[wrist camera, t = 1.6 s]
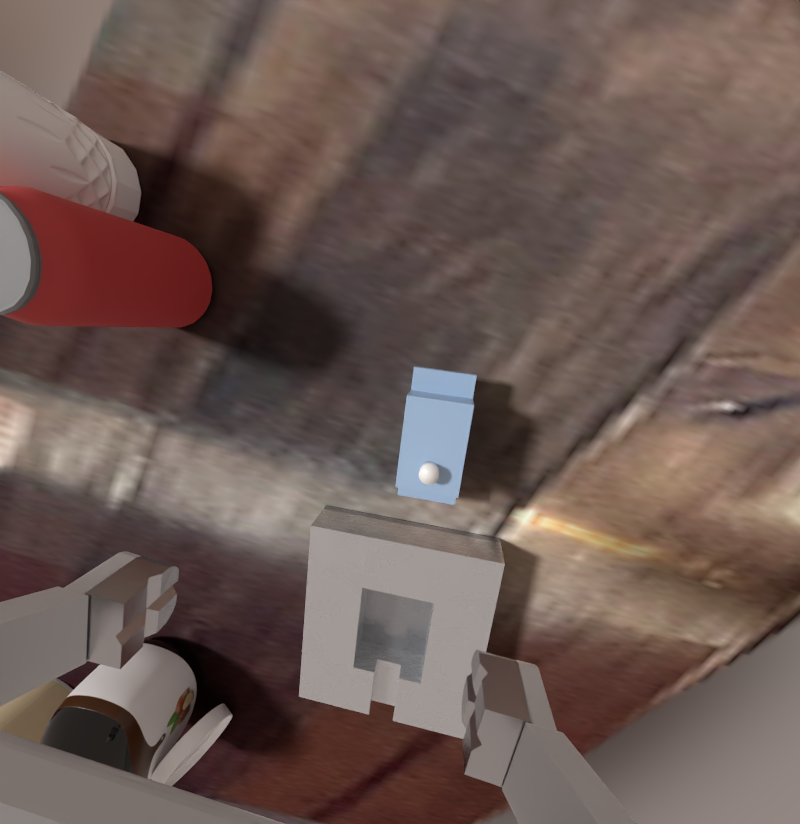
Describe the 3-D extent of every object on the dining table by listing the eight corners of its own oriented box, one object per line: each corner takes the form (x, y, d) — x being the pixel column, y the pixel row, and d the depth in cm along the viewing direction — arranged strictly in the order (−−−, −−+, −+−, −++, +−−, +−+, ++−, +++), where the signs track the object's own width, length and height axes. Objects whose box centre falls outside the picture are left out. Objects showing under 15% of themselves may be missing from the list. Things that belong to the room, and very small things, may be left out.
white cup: (165, 166, 26) (-5, 71, 17) (128, 267, 28) (-43, 235, 19) (73, 105, 26) (-149, -24, 17) (43, 210, 28) (-171, 149, 19)
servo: (474, 370, 26) (479, 381, 20) (455, 486, 28) (454, 526, 23) (418, 362, 27) (408, 372, 21) (403, 477, 29) (390, 514, 23)
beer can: (152, 219, 27) (-74, 138, 16) (229, 262, 27) (58, 212, 15) (128, 302, 29) (-92, 284, 17) (200, 343, 29) (26, 352, 17)
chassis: (499, 538, 28) (504, 563, 25) (466, 700, 32) (467, 739, 29) (326, 505, 30) (311, 525, 27) (313, 663, 34) (298, 696, 31)
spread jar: (130, 619, 36) (-17, 749, 25) (237, 641, 35) (132, 790, 24) (140, 714, 39) (12, 870, 28) (239, 739, 38) (146, 914, 26)
